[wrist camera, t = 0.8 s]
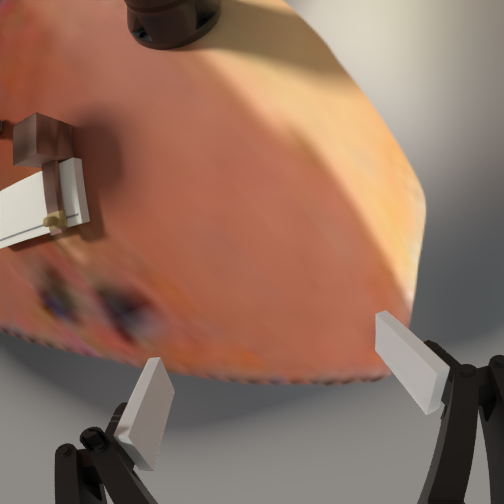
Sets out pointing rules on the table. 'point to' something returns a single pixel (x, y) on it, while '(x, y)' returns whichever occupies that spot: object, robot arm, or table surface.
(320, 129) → the table surface
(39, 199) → the board
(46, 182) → the block
